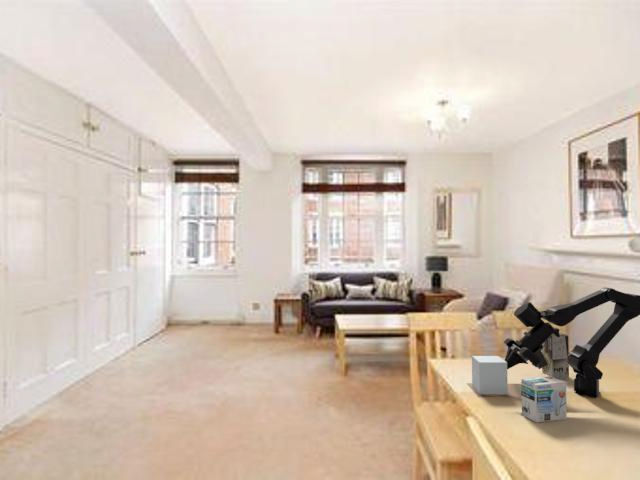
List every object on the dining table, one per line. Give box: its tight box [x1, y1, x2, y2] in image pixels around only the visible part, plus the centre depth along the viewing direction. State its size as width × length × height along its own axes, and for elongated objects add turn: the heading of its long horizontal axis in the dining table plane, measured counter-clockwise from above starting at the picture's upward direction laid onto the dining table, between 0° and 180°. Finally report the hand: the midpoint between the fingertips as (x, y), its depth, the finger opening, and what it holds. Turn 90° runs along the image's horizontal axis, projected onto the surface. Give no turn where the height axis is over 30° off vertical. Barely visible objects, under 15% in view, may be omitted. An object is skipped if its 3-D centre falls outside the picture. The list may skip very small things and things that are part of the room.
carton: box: [471, 355, 509, 395], centre depth 156 cm, size 9×9×10 cm
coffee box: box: [541, 332, 570, 380], centre depth 178 cm, size 9×6×16 cm
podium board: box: [466, 382, 522, 399], centre depth 156 cm, size 20×15×1 cm
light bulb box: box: [520, 375, 567, 423], centre depth 135 cm, size 11×7×11 cm, turn 105°
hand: (503, 369), depth 156 cm, fingers closed, pressing on carton
